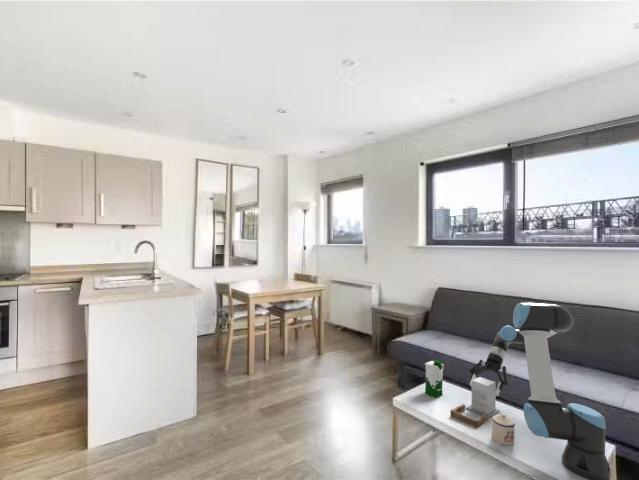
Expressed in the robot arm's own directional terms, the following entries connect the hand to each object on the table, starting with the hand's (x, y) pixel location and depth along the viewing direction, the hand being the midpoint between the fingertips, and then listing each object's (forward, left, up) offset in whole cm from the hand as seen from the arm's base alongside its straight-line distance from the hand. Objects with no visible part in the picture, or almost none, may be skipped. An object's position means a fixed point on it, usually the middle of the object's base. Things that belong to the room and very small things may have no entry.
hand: (483, 390), depth 177 cm
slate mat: (-1, 0, -10) cm, 10 cm away
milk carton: (+16, +21, -10) cm, 29 cm away
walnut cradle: (-10, +11, -10) cm, 18 cm away
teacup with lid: (-28, +3, -10) cm, 30 cm away
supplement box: (-1, 0, -10) cm, 10 cm away
